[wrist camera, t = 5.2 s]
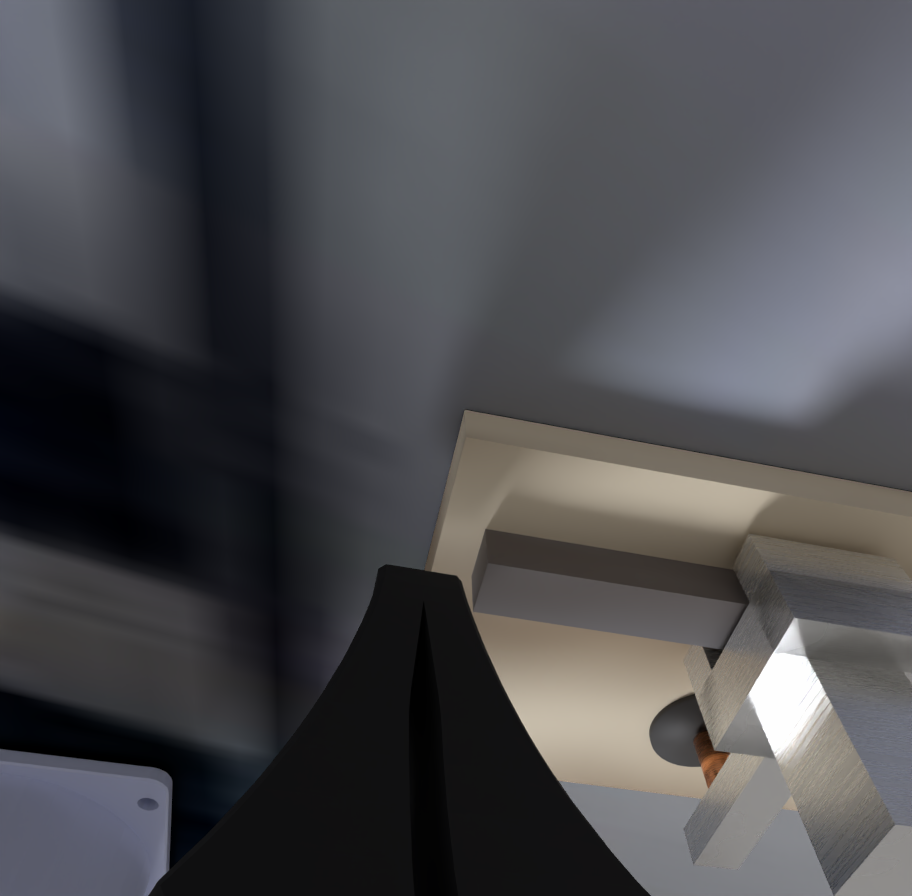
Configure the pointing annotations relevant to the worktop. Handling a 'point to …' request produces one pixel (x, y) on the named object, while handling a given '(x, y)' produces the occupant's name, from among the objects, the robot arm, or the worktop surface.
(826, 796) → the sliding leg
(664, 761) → the board
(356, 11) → the worktop surface
